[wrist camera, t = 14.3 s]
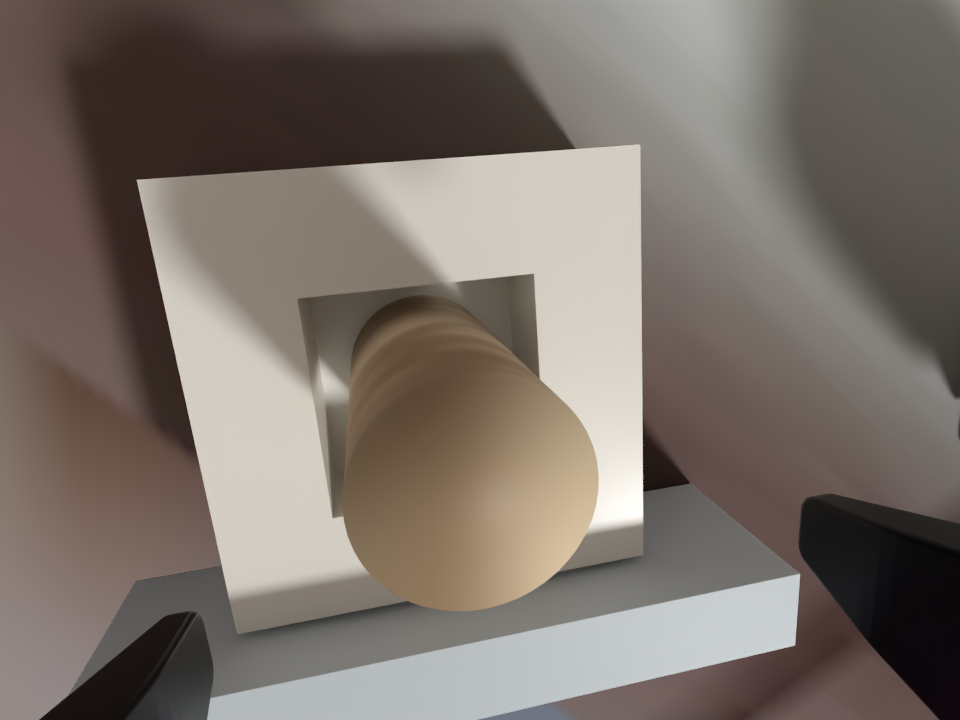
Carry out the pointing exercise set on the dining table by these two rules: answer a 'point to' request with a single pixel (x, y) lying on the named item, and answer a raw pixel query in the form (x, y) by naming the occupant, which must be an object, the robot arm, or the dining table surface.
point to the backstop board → (496, 631)
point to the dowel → (459, 462)
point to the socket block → (353, 301)
